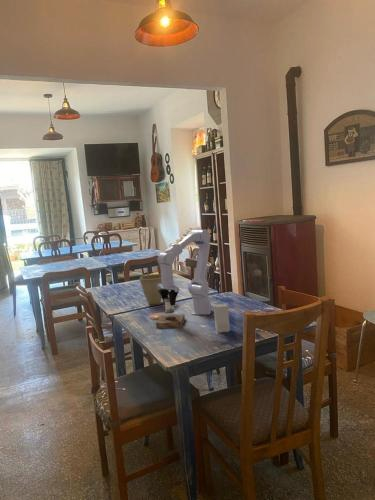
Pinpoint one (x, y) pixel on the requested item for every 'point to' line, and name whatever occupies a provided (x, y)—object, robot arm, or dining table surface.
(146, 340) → the dining table surface
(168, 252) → the robot arm
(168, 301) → the end cover
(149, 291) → the plant pot
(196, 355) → the dining table surface
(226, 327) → the skincare box
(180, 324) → the housing
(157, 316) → the dish
